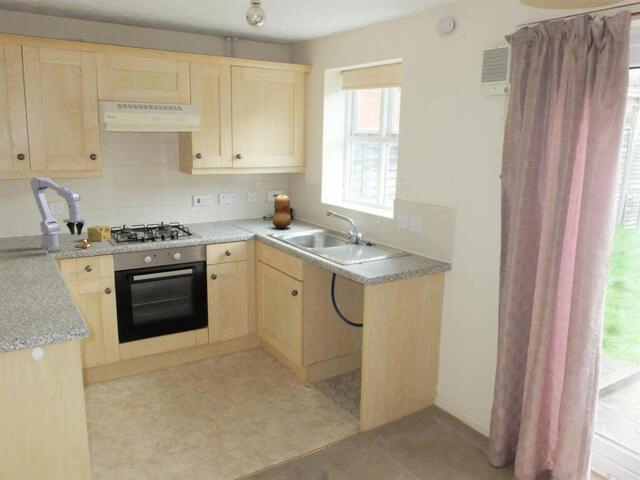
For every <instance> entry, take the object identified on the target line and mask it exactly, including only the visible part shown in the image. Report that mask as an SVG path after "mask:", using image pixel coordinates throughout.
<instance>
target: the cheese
mask: <svg viewBox="0 0 640 480" xmlns="http://www.w3.org/2000/svg"><path fill="white" fill-rule="evenodd" d="M86 229H87V239H88V240H87V242H99V243H100V242H101V243H103V242H104V241H108V240H110V239H111V237H112V236H111V235H112V234H111V233H112V232H111V226H110V225H98V224H97V225H94V226H90V227H87V228H86Z"/></svg>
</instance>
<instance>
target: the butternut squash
mask: <svg viewBox="0 0 640 480" xmlns="http://www.w3.org/2000/svg"><path fill="white" fill-rule="evenodd" d="M290 203H291V199H290V197H288V195H285V194H284V195H281V194H280V195H277V196H276V197H275V199H274V203H273V204H274V207H273V208H274V214H273V217H272V224H273V226H274V227H275V228H276V229H277V228H278V229H286V228H287V227H290V225H291V223H292V217H291V215H290V213H291V212H290V210H291V204H290Z"/></svg>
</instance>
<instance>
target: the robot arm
mask: <svg viewBox="0 0 640 480" xmlns="http://www.w3.org/2000/svg"><path fill="white" fill-rule="evenodd" d="M29 184H30V186H31V190H32V194H33V196H34V199H35V201H36V205H37V208H38V211H39V214H40V216H41V218H42V220H41V222H40V223H39V225H40V231H41V235H40V236H41V247H42V251H43V250H49V248H56V247H59V246H60V245H59V235H58V234H59V231H60V230H61V225H60V224H59V222H58V220H57V219H56V218H54V217H53V215H52V213H51V210H50V207H49V204H48V201H47V198H46V196H45V191H46V190H47V189H48V188H49V189H51V190H53V191H55V192H57V193H56V194H57V196H60V197H62V198H64V199H65V201H66V204H67V206H68V217H69V218H65V219H62V220H63V223H64V224H65V223H66V226H67V228H68V230H69V232H70V234H71V235H72V236H74V235H75V231H76V232H77V236H81V235H82V231H83V227H84V226H85V225H86V224H87V223H88V221H87V219H81V217H80V205H79V201H81V195H80V193H79V192H77V191H72V190H70V189H68V188H67V186H60V185H59V184H57V183H56V182H54V181H52V178H51V177H48V176H39V177H32V178H31V180H30V183H29ZM75 228H76V230H75Z"/></svg>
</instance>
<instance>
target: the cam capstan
mask: <svg viewBox="0 0 640 480" xmlns="http://www.w3.org/2000/svg"><path fill="white" fill-rule="evenodd" d="M92 244H93V243H92V242H88V240H87V238H82V242H80V243H76V244H75V246H76V248H82V249H83V250H86V249H88V248H89V247H92V246H93V245H92Z"/></svg>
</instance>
